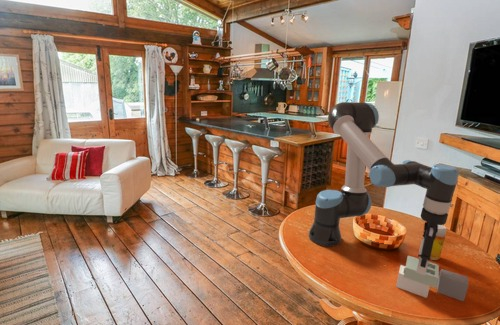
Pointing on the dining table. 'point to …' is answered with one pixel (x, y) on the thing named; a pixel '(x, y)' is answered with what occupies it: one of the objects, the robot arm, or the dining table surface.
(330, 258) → the dining table surface
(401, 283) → the white open box
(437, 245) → the yellow labelled bottle
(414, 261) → the grey block
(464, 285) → the block
